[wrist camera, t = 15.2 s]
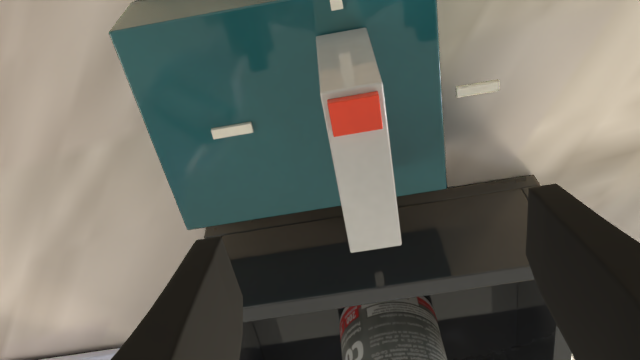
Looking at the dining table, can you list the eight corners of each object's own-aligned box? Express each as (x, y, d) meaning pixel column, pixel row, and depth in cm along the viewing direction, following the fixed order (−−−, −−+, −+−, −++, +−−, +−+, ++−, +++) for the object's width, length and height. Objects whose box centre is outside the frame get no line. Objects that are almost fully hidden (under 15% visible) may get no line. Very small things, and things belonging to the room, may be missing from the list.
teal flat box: (203, 201, 25) (192, 249, 22) (121, -24, 19) (94, 6, 17) (476, 157, 24) (498, 202, 21) (472, -91, 18) (501, -71, 16)
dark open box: (271, 403, 33) (268, 496, 29) (205, 226, 26) (187, 316, 21) (524, 369, 32) (559, 459, 28) (534, 173, 25) (585, 257, 20)
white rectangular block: (385, 172, 21) (403, 251, 17) (341, 179, 21) (351, 259, 17) (366, 26, 17) (383, 86, 14) (315, 35, 18) (320, 97, 14)
